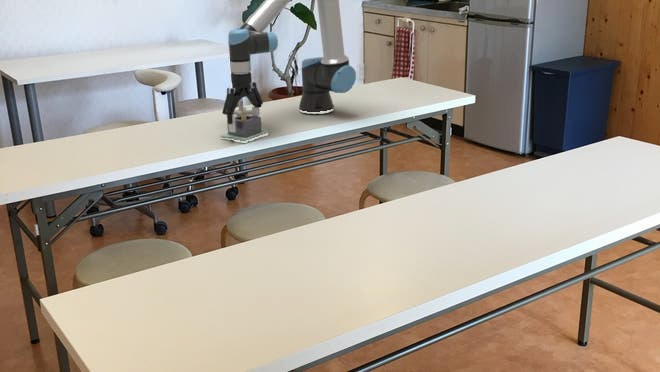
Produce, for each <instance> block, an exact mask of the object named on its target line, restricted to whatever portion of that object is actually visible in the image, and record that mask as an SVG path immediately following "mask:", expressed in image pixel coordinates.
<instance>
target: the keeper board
mask: <svg viewBox="0 0 660 372" xmlns="http://www.w3.org/2000/svg"><path fill="white" fill-rule="evenodd" d="M241 120H247V118H246V115H245V114H243V115H241ZM268 132H269V130H263V129H262V132H261V133H258V134H256V135H253V136H250V137H247V138H244V137H239V136H233V135H228V132H227V133H224V134H220V138H221V137H222V138H228V139H234V140H240V141H246V140H249V139H252V138H255V137H258V136H260V135H263V134H266V133H268Z"/></svg>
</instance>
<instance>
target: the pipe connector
mask: <svg viewBox="0 0 660 372" xmlns="http://www.w3.org/2000/svg"><path fill="white" fill-rule="evenodd" d="M243 102H244V101H243V99H240V100H239V102H238V104H237V106H238V109H235V111H234V113H233V115H235V116H239V115H242V114H245V115H251V116H252V109H250V110H249V109H248V110H247V108H246V107H244V103H243ZM230 112H231V111H230Z"/></svg>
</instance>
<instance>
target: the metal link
mask: <svg viewBox="0 0 660 372" xmlns="http://www.w3.org/2000/svg"><path fill="white" fill-rule="evenodd" d="M242 115H243V114H242ZM246 118H247V120H241V115H239V116H237V115H235V129H236V132H229V125H228V122H227V121H226V123H227V133H228V135H233V136H239V137H244V138H247V137H250V136H253V135H256V134H258V133H261V132H262V130H263V129H262V117H261V116H259V117H257V116H252V115H246Z"/></svg>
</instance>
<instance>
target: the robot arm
mask: <svg viewBox="0 0 660 372" xmlns="http://www.w3.org/2000/svg"><path fill="white" fill-rule="evenodd" d="M291 1H292V0H264V1H263V2H262V3H261V4H260V5H259V6H258V7H257V9H256V10H254V12H253V13H252V14H251V15H250V16H249V18H247V20H246V21H245V22H244V23H243V24H242V25H241V26H240V27H239V28H234V29H231V30H230V31H229V32H228V39H227V41H228V53H229V64H230V81H231V83H232V85H233V87H227V88H226V97H225V101H224V104H223V109H222V115H225V116H226V123H227V122H228V124H227V126H228V125H229V132H236V129H235V117H236V115H233V113H234V111H235V110H236V108H237V107H238V102H239V100H242V99H243V98H245V97H246V99H248V101H249V102H250V104H251V105H252V106H251V110H252V115H251V116H257V117H260V108H262V105H263V104H264V102H263V100H262V97H261V95H260V92H259V90H258V88H257V82H254V81H252V79H253V78H252V73H251V71H252V64H251V61H252V60H251V55H252V56H253V55H258V54H266V53H272V52H275V51H277V49H278V46H279V42H278V41H279V40H278V36H277V34H276V33H274V31H265V30H266V29H267V28H268V27H269V26H270V24H271V23H272V22H273V21H274V20H275V19H276V18H277V17H278V16H279V14H280V13H281V12H282V11H283V10H284V9H285V8H286V7H287V5H288V4H289V3H290V2H291ZM316 2H317V11H318V19H319V28H320V36H321V47H322V53H323V54H322V55H323V56H319V57H311V58H304V59H303V60H302V61H301V83H302V95H301V98H300V103H299V105H298V110H299V109H300V110H302V111H307V112H320V111H327V110H331V109H333V108H334V109H335V105H334V103H333V99H332V96H331V92H333V93H336V94H345V93H349V91H350V90H351V89H352V88H353V87H354V85H355V83H356V80H357V72H356V70H355V68H353V66H352V65H350V59H349V57H348V56H347V55H346V54H345V47H344V37H343V29H342V18H341V10H340V1H339V0H316ZM230 111H231V112H230Z"/></svg>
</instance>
